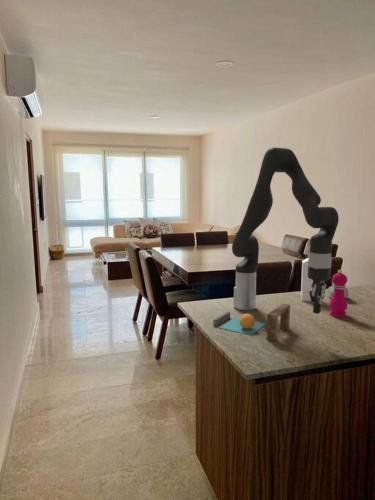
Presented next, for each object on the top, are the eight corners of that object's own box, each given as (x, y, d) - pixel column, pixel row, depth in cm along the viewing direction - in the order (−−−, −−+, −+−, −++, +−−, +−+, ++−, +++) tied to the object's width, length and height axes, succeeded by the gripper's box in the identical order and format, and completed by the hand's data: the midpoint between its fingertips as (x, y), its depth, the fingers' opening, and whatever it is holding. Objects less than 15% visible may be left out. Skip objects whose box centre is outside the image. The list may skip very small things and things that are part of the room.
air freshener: (327, 295, 192) (328, 276, 190) (344, 295, 190) (345, 276, 189) (331, 301, 181) (332, 281, 180) (349, 302, 180) (350, 281, 178)
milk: (301, 301, 182) (302, 256, 179) (300, 297, 188) (302, 254, 185) (314, 301, 181) (316, 256, 177) (313, 298, 187) (315, 254, 183)
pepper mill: (325, 312, 165) (328, 268, 161) (341, 312, 165) (344, 267, 162) (333, 318, 158) (336, 271, 154) (350, 317, 158) (352, 271, 155)
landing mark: (218, 327, 148) (218, 327, 148) (235, 317, 160) (235, 317, 160) (251, 335, 140) (251, 334, 140) (266, 324, 152) (266, 323, 152)
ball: (252, 318, 142) (252, 332, 143) (256, 312, 147) (257, 327, 148) (237, 315, 145) (237, 330, 146) (242, 310, 150) (242, 324, 151)
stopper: (213, 325, 151) (213, 319, 150) (227, 317, 160) (227, 311, 160) (215, 326, 150) (215, 320, 150) (230, 317, 160) (230, 312, 159)
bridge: (266, 339, 136) (267, 314, 135) (281, 326, 148) (282, 303, 147) (274, 341, 135) (275, 315, 133) (289, 328, 147) (290, 304, 145)
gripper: (314, 260, 136) (311, 306, 139) (302, 267, 126) (300, 316, 129) (335, 263, 132) (332, 309, 135) (325, 270, 122) (322, 320, 125)
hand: (316, 312), depth 132 cm, fingers closed
